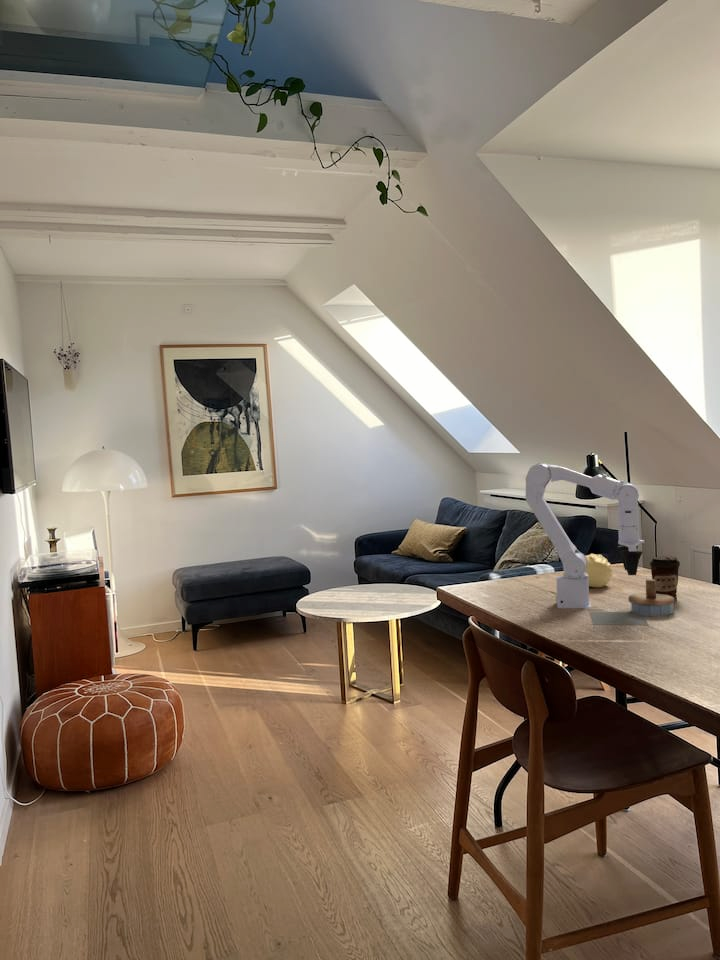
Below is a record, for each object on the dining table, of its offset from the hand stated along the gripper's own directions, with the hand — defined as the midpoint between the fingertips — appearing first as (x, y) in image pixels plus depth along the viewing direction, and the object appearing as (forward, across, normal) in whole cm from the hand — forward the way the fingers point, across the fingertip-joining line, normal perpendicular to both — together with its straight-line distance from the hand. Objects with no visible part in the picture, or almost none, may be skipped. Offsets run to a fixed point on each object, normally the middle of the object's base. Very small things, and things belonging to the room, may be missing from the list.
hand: (630, 572), depth 221 cm
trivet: (+10, -14, +5) cm, 18 cm away
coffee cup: (+11, +9, -11) cm, 18 cm away
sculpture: (+11, +31, +8) cm, 34 cm away
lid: (+7, -6, -5) cm, 10 cm away
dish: (+10, -6, -5) cm, 13 cm away
